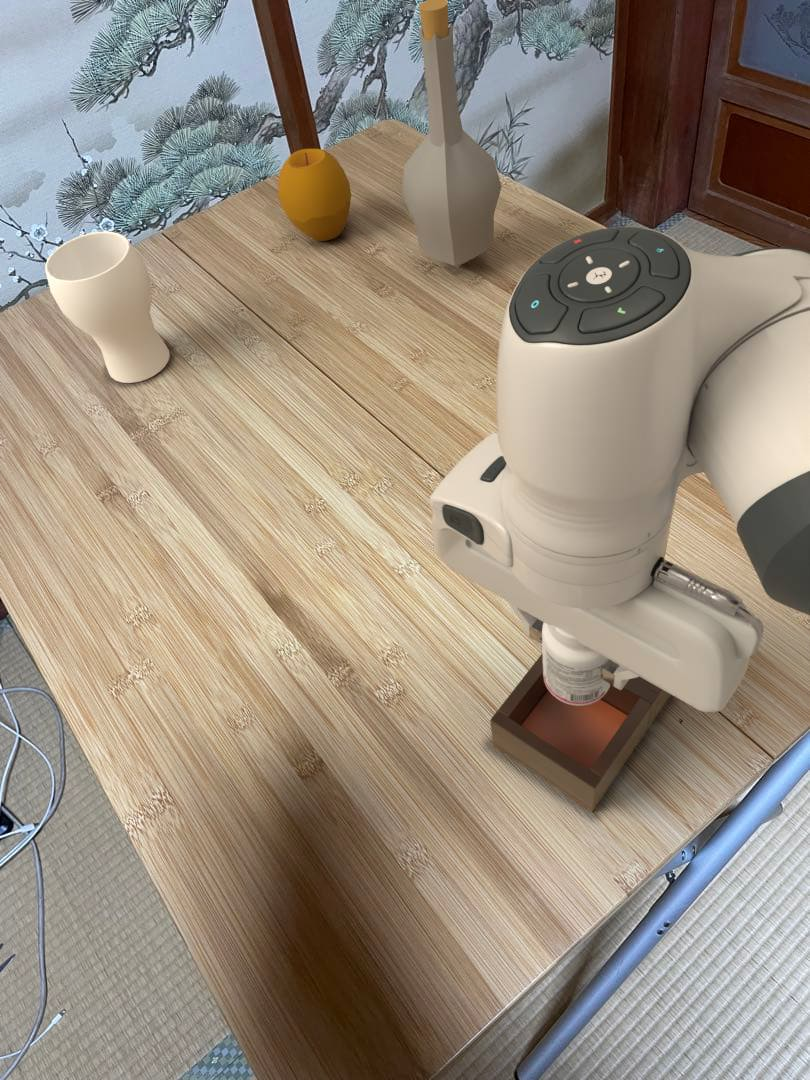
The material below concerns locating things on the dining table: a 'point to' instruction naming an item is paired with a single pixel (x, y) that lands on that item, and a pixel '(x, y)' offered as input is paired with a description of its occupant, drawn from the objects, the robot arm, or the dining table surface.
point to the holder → (575, 733)
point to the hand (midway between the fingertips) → (576, 654)
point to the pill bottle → (571, 668)
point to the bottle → (448, 160)
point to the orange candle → (315, 193)
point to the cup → (109, 302)
